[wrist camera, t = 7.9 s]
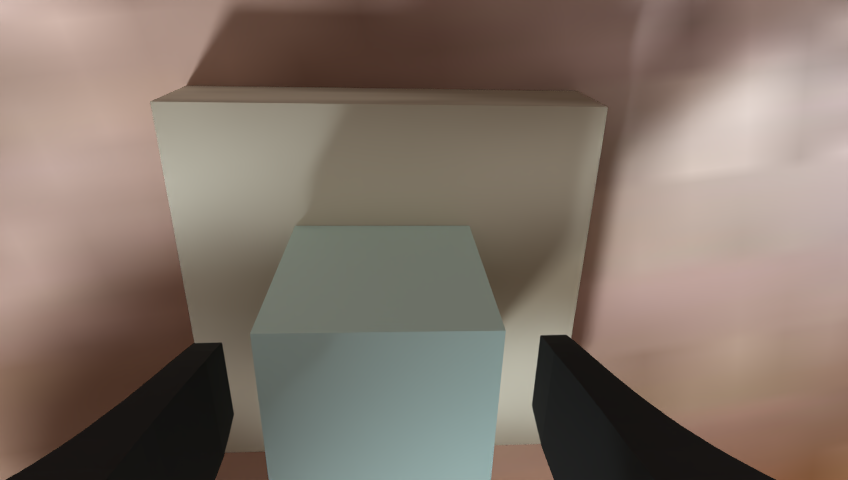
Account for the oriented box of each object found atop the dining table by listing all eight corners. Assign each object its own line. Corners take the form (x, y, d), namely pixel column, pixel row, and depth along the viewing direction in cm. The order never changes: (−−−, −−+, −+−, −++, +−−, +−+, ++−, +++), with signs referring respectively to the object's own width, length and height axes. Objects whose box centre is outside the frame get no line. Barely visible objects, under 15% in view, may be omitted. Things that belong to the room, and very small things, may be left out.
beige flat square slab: (532, 384, 21) (554, 443, 18) (238, 390, 20) (214, 452, 17) (570, 88, 16) (608, 106, 13) (192, 82, 15) (149, 101, 13)
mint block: (460, 366, 16) (487, 509, 12) (306, 368, 16) (272, 516, 11) (469, 225, 14) (505, 330, 10) (295, 225, 14) (250, 333, 10)
